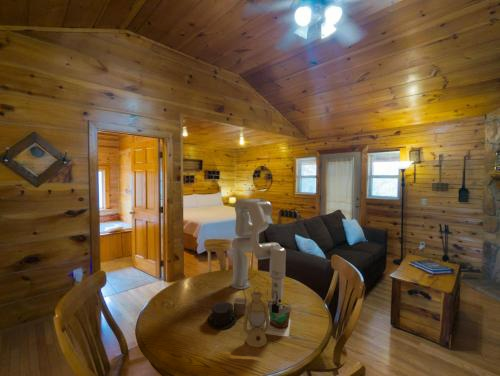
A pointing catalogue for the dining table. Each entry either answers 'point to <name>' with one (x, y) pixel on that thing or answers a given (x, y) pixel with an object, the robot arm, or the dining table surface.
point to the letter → (278, 330)
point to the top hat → (222, 315)
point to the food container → (279, 316)
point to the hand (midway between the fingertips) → (276, 307)
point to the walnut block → (240, 306)
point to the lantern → (256, 320)
